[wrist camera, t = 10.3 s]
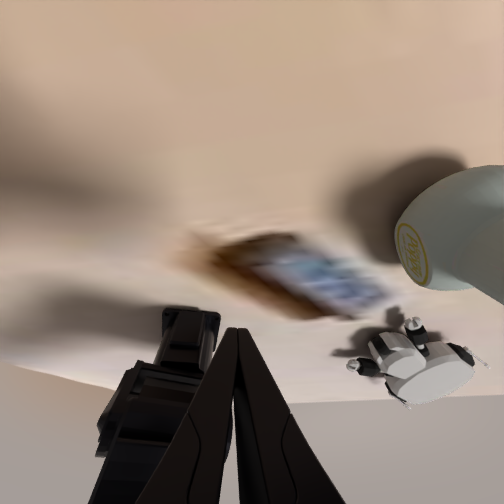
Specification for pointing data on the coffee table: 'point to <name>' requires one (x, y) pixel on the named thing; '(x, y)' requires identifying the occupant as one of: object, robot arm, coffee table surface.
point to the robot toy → (416, 364)
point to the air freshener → (456, 233)
